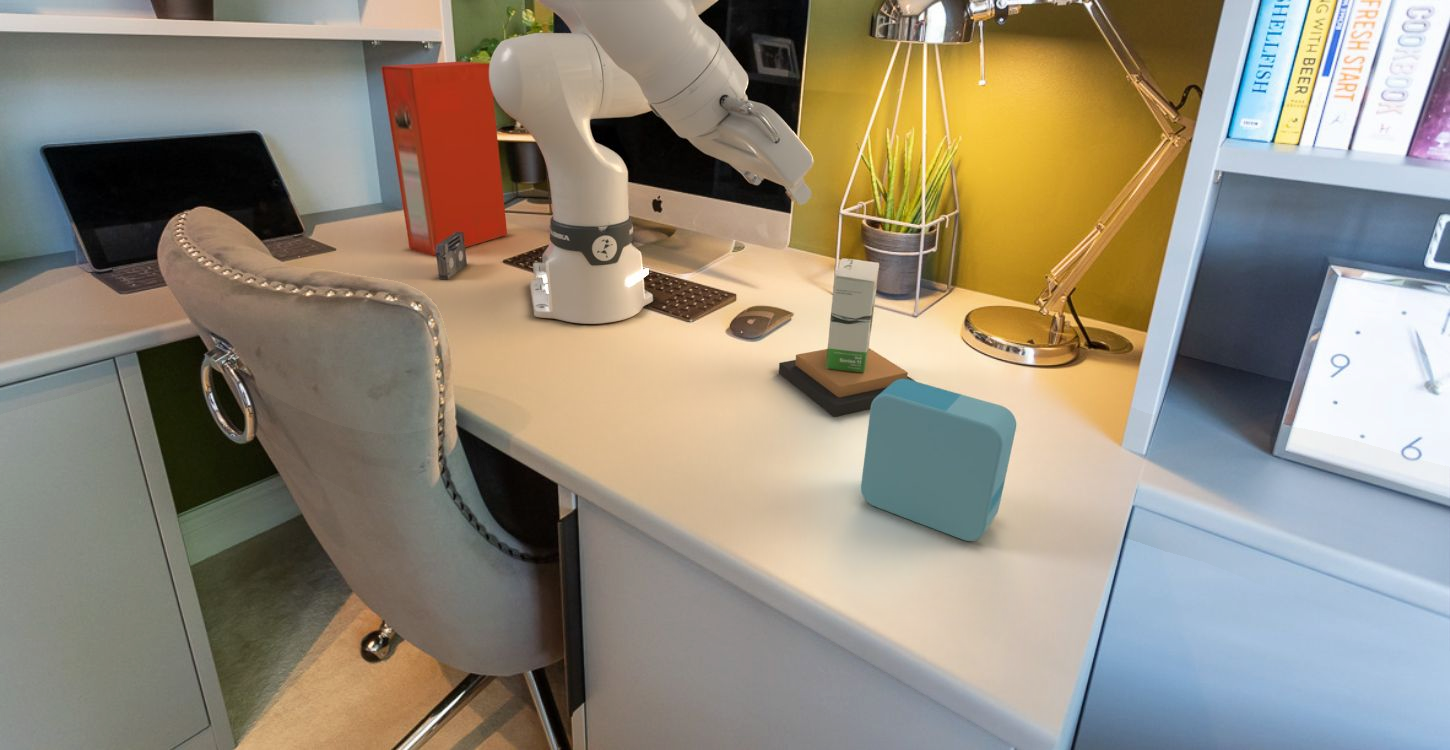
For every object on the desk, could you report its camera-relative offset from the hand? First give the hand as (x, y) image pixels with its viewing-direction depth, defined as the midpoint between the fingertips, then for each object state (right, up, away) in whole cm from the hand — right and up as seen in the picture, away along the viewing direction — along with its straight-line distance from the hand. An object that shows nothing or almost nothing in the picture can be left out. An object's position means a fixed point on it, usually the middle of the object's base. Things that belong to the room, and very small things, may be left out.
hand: (780, 189), depth 84 cm
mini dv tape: (-53, -2, +51) cm, 74 cm away
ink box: (+10, -18, +16) cm, 26 cm away
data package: (+13, -33, -9) cm, 37 cm away
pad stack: (+10, -21, +15) cm, 28 cm away
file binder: (-57, +6, +67) cm, 89 cm away
